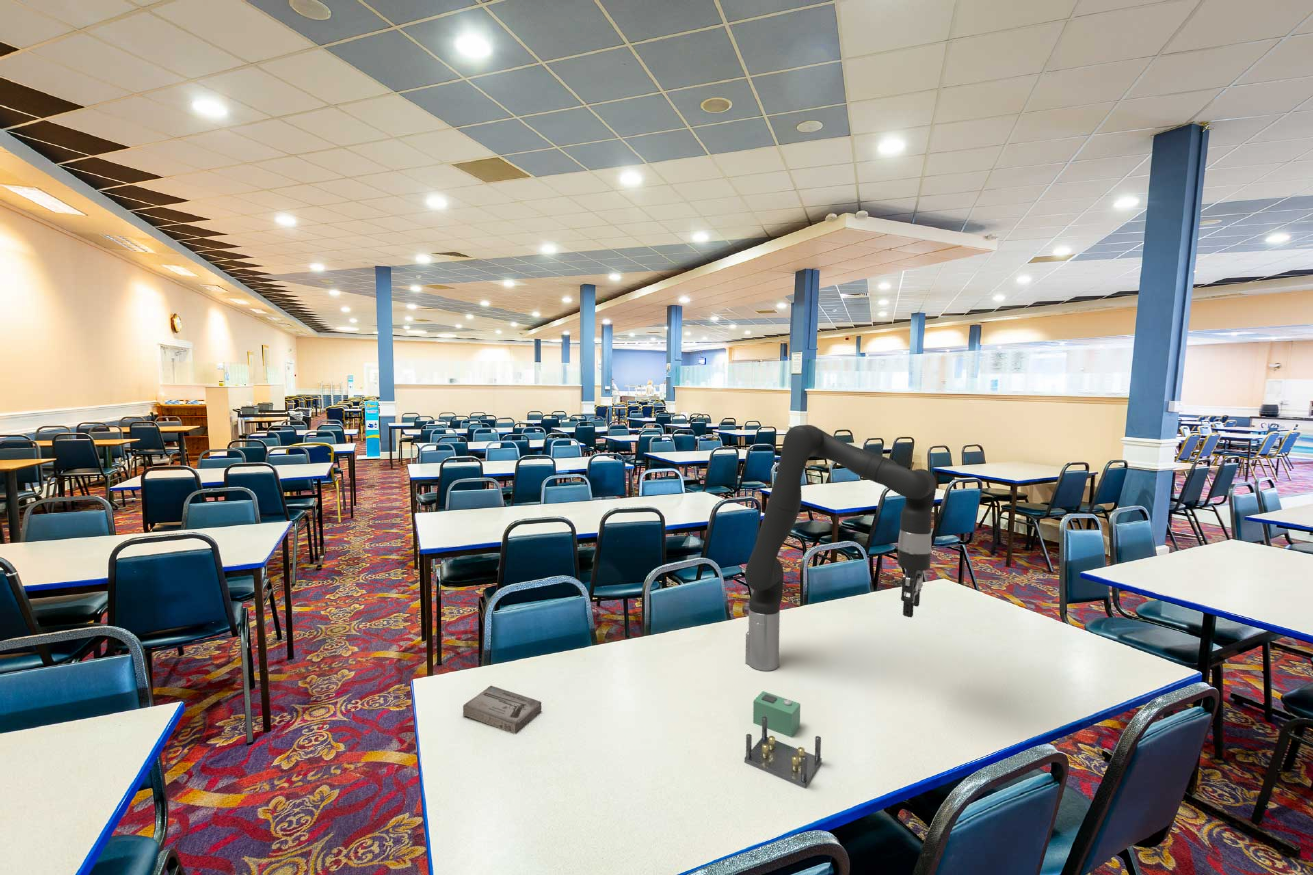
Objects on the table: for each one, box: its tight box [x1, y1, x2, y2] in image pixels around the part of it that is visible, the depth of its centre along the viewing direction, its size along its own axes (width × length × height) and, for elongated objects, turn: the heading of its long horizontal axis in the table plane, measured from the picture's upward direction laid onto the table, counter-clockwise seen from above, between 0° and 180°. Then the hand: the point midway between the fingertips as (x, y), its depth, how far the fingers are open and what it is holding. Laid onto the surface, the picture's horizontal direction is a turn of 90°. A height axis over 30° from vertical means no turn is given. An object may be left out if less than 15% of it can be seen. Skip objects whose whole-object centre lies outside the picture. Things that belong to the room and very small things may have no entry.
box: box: [462, 685, 542, 735], centre depth 141 cm, size 11×17×3 cm, turn 65°
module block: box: [752, 690, 801, 738], centre depth 137 cm, size 10×6×7 cm, turn 54°
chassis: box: [744, 717, 823, 789], centre depth 123 cm, size 14×10×6 cm
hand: (911, 610), depth 140 cm, fingers open, 8 cm apart
